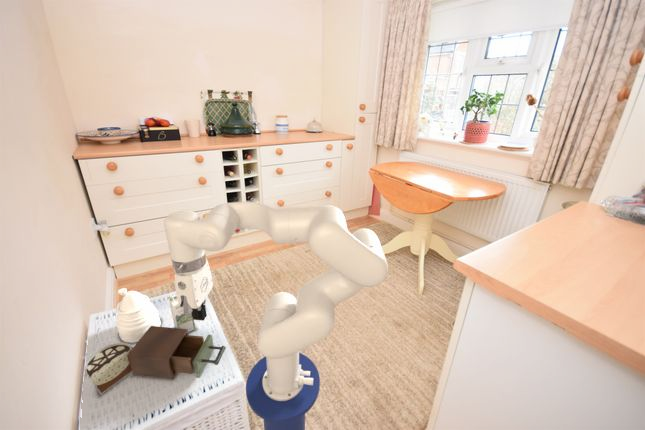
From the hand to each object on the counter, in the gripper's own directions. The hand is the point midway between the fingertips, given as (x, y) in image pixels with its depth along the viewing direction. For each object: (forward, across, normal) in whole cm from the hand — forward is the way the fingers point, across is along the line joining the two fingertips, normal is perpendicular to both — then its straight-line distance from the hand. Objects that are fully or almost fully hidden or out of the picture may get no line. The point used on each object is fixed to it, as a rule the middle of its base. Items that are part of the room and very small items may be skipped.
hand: (199, 317), depth 78 cm
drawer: (+24, +5, +6) cm, 26 cm away
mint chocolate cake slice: (+25, -2, +30) cm, 39 cm away
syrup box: (+25, +19, +18) cm, 36 cm away
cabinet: (+25, +5, +18) cm, 31 cm away
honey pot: (+25, +17, +34) cm, 46 cm away
